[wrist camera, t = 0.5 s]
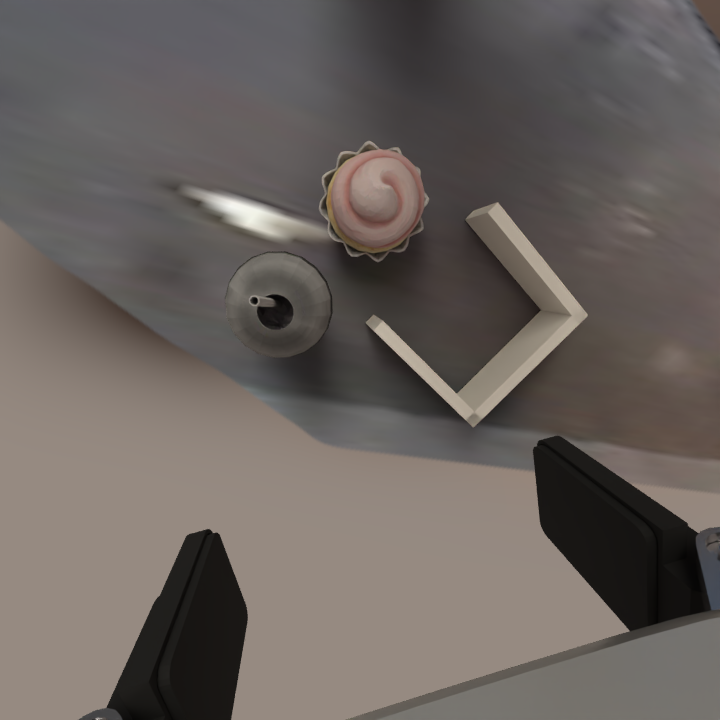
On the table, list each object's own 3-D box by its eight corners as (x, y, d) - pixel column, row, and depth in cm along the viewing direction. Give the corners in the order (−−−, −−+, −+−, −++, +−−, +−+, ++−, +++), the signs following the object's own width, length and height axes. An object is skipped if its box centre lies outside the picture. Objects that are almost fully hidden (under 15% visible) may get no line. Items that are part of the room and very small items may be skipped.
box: (473, 210, 38) (497, 202, 33) (555, 309, 41) (588, 315, 37) (365, 322, 39) (373, 330, 34) (454, 409, 42) (473, 427, 38)
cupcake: (431, 224, 37) (474, 208, 28) (355, 280, 38) (371, 284, 28) (378, 135, 35) (404, 85, 25) (296, 197, 35) (292, 170, 26)
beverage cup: (274, 344, 38) (241, 422, 19) (234, 278, 36) (152, 290, 17) (338, 309, 38) (370, 352, 19) (302, 242, 36) (296, 213, 17)
